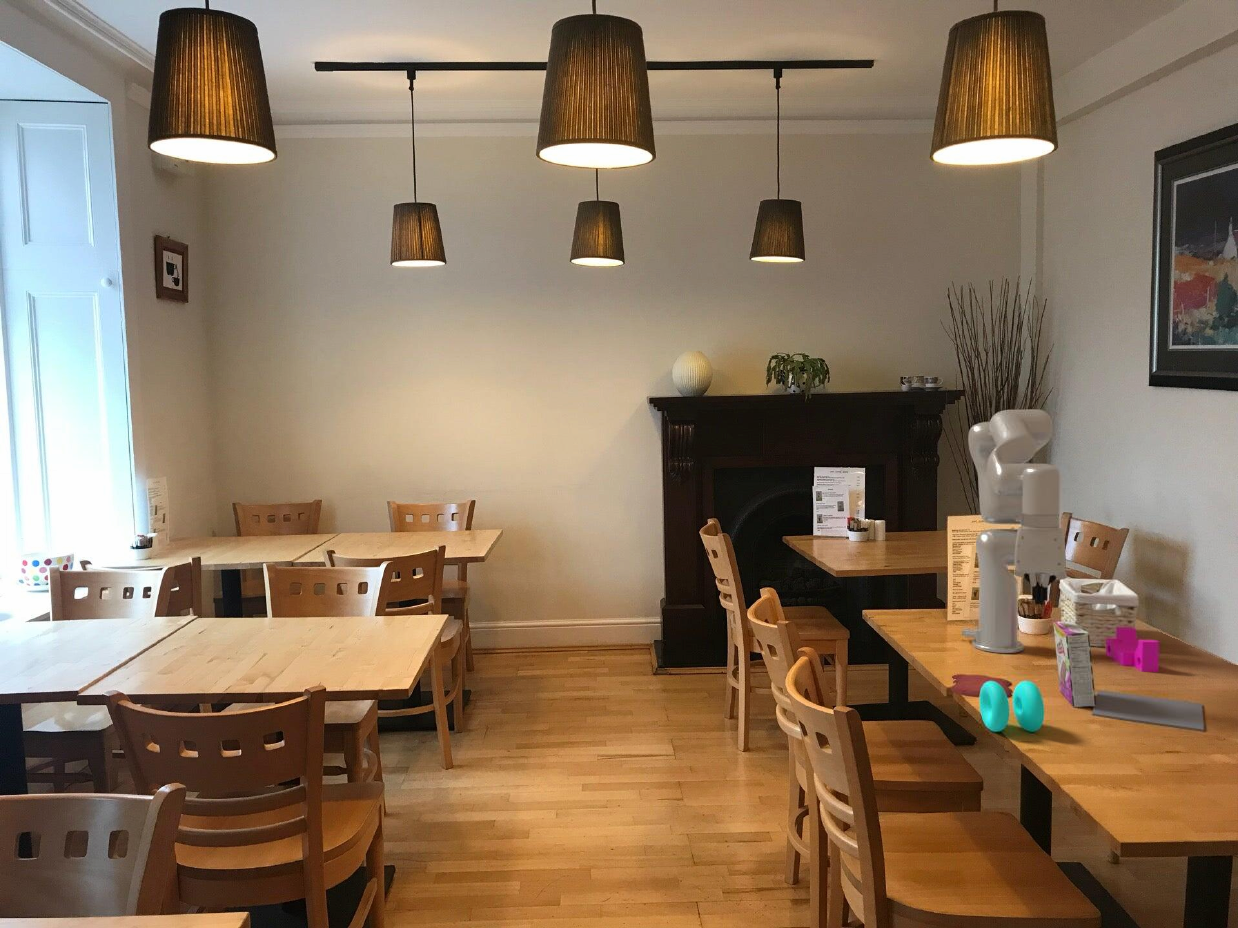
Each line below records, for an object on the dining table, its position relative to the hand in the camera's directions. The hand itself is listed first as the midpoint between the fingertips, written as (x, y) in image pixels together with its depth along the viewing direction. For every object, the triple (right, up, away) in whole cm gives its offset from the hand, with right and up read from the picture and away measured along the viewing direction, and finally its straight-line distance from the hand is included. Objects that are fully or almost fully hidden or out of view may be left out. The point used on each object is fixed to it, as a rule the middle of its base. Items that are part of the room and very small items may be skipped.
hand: (1039, 603), depth 208 cm
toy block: (+35, -19, +26) cm, 47 cm away
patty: (-10, -22, +7) cm, 25 cm away
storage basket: (+38, -17, +50) cm, 65 cm away
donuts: (-15, -23, -19) cm, 33 cm away
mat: (+19, -21, -9) cm, 30 cm away
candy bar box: (+7, -21, -2) cm, 22 cm away
